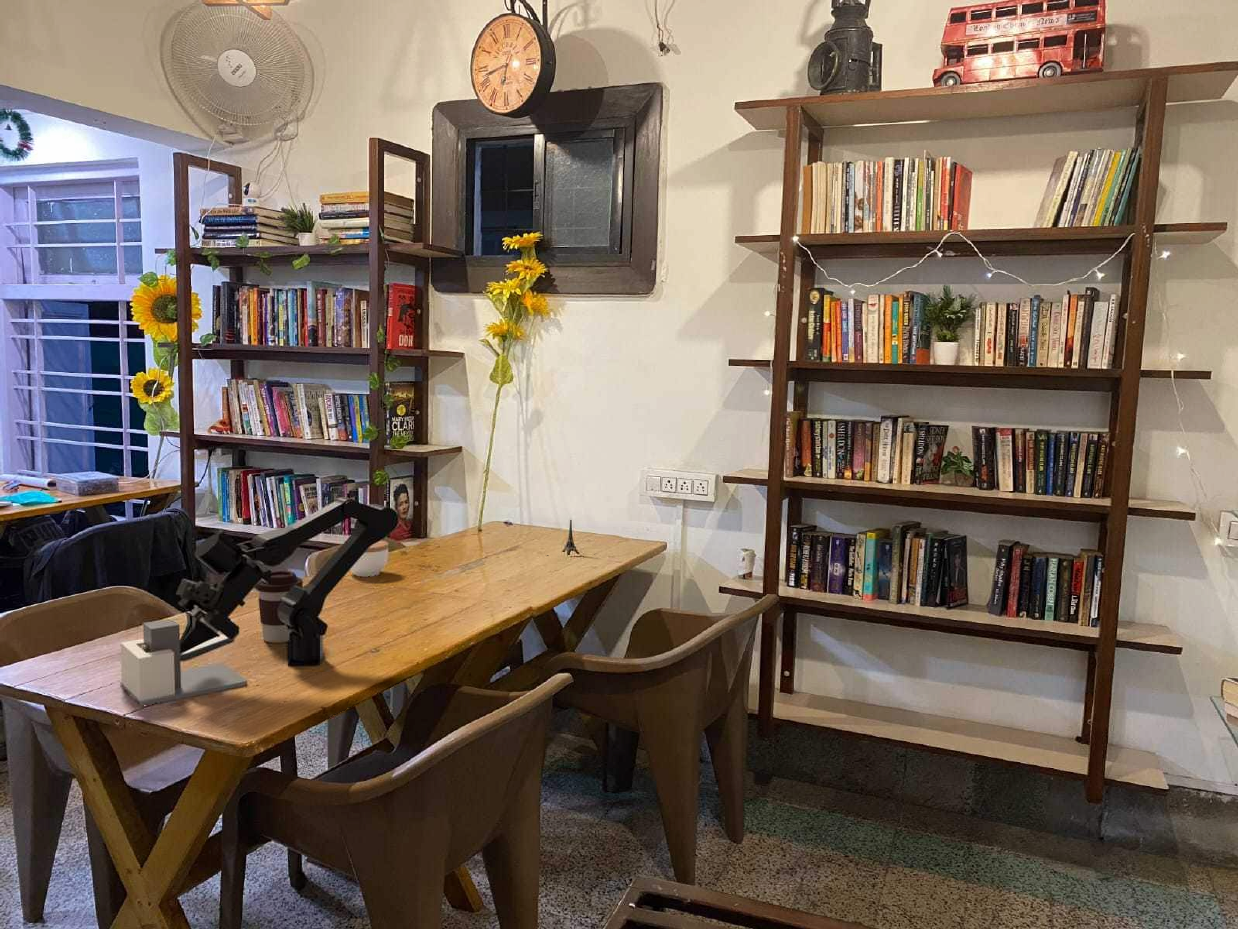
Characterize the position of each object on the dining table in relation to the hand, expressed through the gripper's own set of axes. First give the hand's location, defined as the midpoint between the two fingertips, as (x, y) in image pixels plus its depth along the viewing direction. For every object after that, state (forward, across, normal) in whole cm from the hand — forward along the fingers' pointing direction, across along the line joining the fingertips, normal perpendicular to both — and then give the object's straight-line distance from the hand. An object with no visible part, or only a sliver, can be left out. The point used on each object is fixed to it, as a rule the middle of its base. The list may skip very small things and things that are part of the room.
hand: (177, 652), depth 181 cm
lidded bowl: (-46, -65, +56) cm, 98 cm away
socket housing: (+4, 0, +6) cm, 7 cm away
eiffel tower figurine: (-93, -52, +104) cm, 149 cm away
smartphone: (-2, -23, +13) cm, 26 cm away
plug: (+6, 0, +2) cm, 6 cm away
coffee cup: (-14, -18, +24) cm, 34 cm away
